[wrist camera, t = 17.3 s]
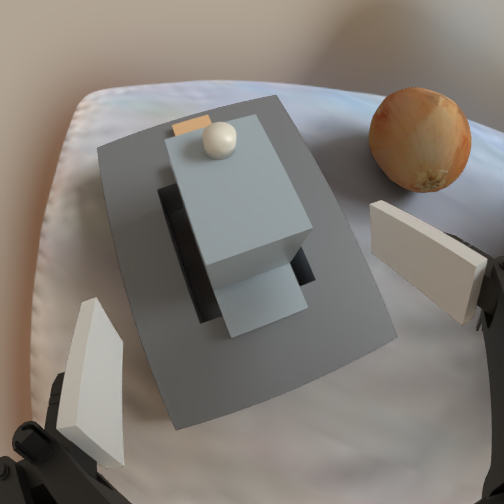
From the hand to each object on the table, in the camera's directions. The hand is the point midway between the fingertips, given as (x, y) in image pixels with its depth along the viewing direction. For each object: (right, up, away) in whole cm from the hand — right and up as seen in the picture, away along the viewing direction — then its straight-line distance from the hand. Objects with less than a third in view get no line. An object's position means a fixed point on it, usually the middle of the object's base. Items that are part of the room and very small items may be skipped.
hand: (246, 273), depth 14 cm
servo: (-1, +1, +11) cm, 11 cm away
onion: (+15, +10, +15) cm, 23 cm away
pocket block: (-1, +1, +11) cm, 11 cm away
